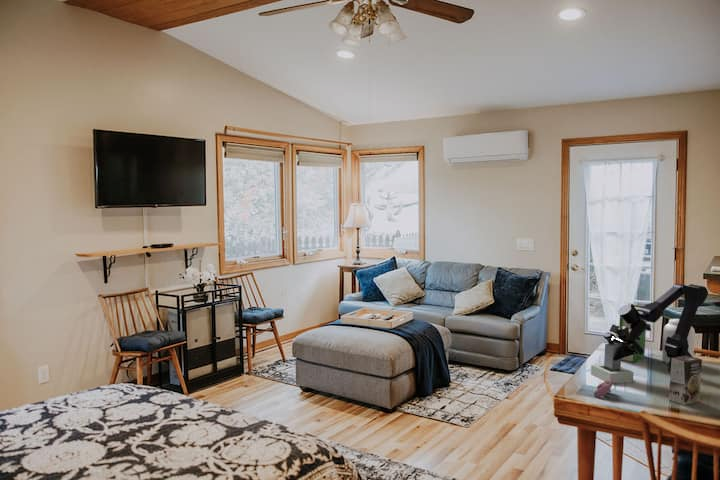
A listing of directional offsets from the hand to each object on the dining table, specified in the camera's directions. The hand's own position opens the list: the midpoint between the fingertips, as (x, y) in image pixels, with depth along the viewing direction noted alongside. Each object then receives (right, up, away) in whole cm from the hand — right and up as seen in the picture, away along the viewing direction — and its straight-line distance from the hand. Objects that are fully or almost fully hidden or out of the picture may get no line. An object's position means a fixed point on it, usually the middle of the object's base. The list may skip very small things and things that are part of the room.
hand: (609, 358), depth 229 cm
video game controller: (-11, -10, -19) cm, 24 cm away
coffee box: (+16, -11, -25) cm, 32 cm away
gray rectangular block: (+1, -7, +1) cm, 7 cm away
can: (+43, -8, +25) cm, 50 cm away
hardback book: (+24, -7, +31) cm, 40 cm away
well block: (+1, -8, +1) cm, 9 cm away
